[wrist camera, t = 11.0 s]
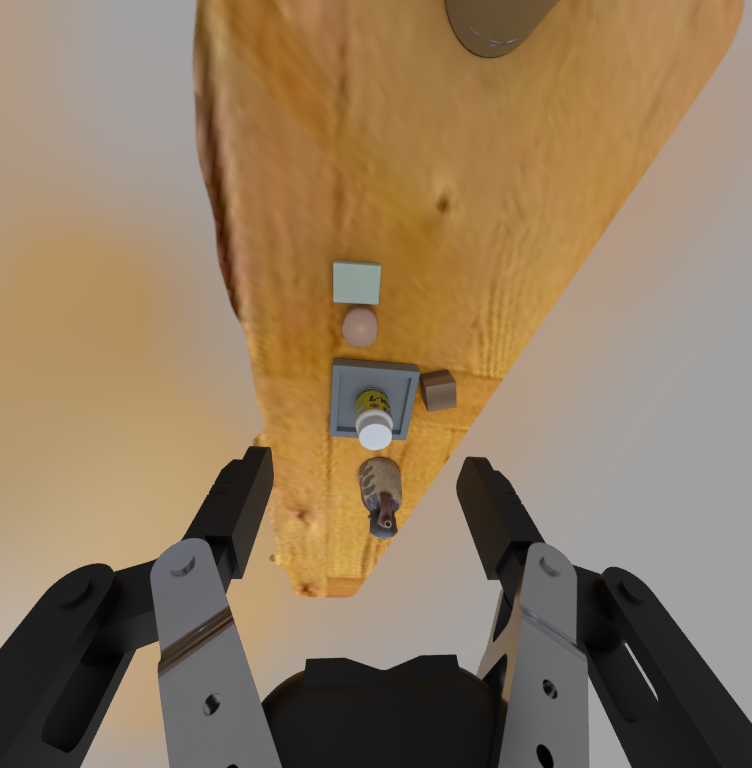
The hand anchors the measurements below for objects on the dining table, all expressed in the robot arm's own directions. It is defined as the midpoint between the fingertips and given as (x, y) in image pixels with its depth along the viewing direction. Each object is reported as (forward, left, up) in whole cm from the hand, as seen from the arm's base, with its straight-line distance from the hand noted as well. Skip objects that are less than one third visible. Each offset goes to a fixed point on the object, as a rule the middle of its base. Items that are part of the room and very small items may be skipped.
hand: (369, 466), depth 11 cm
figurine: (+27, +6, -27) cm, 39 cm away
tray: (+12, +3, -27) cm, 30 cm away
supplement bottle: (+12, +3, -26) cm, 29 cm away
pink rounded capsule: (+1, 0, -27) cm, 27 cm away
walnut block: (+9, +12, -27) cm, 31 cm away
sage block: (-4, -1, -27) cm, 27 cm away
